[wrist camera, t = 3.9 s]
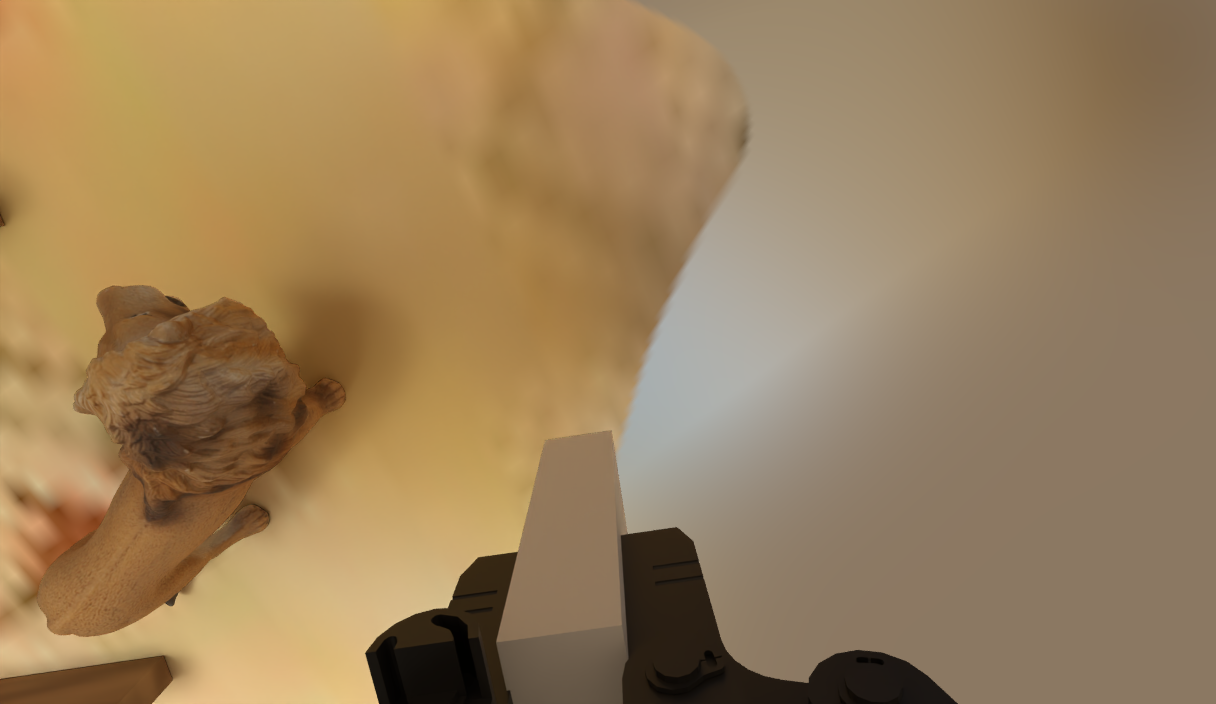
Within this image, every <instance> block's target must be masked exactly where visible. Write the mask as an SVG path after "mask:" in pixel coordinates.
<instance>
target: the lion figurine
mask: <svg viewBox="0 0 1216 704" xmlns="http://www.w3.org/2000/svg"><path fill="white" fill-rule="evenodd" d="M97 307H98V309H99V311H100V313H101V315H102V317H103V319H104V323H105V327H106V333H105V334H104V336H103V337H102V338H101V340H100V341H99V344H98V354H97V358H94V359H92V360H91V362H90V364H89V366H88V368H87V370H86V374H87V377H88V378H87V380H86V381H85V382H84V385H83V387H82V388H80V389H79V390H77V391H76V393H75V394H74V400H75V402H74V405H73V409H74V411H77V412H79V413H84V414H92V415H96V416H97V417H98V418H99V419H100V420H101V422H102V423H103V424H104V426H105V429H106V431H107V433H108V434H109V435H110V437H111V440H112V441H113V442H114V443H117V444H123V445H122V447H121V449H120V452H119V458H120V459H121V461H122V462H123V463H124V464H125V465H126V466H127V467H128V468H129V469H130V470H129V471H128V473H127V475H126V476H125V478H124V480H123V482H122V483H121V485H120V487H119V488H118V490H117V492H116V494H115V496H114V498H113V500H112V502H111V504H110V507H109V509H108V511H107V514H106V515H105V517H104V519H103V521H102V523H101V524H100V526H99V528H98V529H96V530H94V531H93V532H91V533H89V534H88V535H86V536H85V537H84V538H82V539H81V540H79V541H78V542H77V543H75V544H74V545H73V546H72V547H71V548H69V549H68V550H67V551H66V552H64V553H63V554H62V555H61V556H59V557H58V558H57V559H56V560H55V561H54V563H53V564H52V565H51V566H50V567H49V568H48V570H47V571H46V573H45V574H44V576H43V578H42V580H41V583H40V586H39V591H38V596H37V602H38V605H39V607H40V609H41V610H42V612H43V613H44V614H45V615H46V617H47V627H48V628H49V630H50V631H51V632H53V633H54V634H58V635H70V634H75V635H78V636H83V637H89V636H98V635H103V634H108V633H111V632H114V631H117V630H119V629H121V628H124V627H126V626H128V625H130V624H132V623H134V622H136V621H138V620H139V619H141V618H143V617H145V616H146V615H148V614H149V613H151V612H152V611H154V610H155V609H157V608H158V607H160V606H161V605H163V604H164V603H166V604H167V605H169V606H173V605H174V603H175V599H176V597H177V595H178V593H179V591H180V590H181V589H182V588H183V587H185V586H186V585H187V584H188V583H189V582H190V581H191V580H192V579H193V578H194V577H195V576H196V575H197V574H198V573H199V572H200V571H201V570H202V568H203V567H204V566H205V565H206V564H207V563H208V562H209V561H210V560H211V559H213V558H215V557H217V556H218V555H219V554H220V553H222V552H223V551H224V550H226V549H227V548H228V547H230V546H231V545H232V544H234V543H236V542H237V541H239V540H241V539H243V538H245V537H248V536H250V535H253V534H256V533H258V532H261V531H262V530H264V529H265V528H266V527H267V525H268V524H269V516H268V514H267V512H266V511H264V510H262V509H261V508H260V507H258V506H256V505H248V506H245V507H243V508H242V509H241V510H239V511H238V512H237V513H236V514H235V516H234V517H233V518H232V519H231V520H230V521H229V522H228V523H227V524H226V525H225V526H224V527H222V528H221V529H220V530H219V531H217V532H216V533H214V532H215V531H216V530H217V529H218V528H219V527H220V526H221V525H222V524H223V523H224V522H225V520H226V519H227V518H228V517H229V516H230V515H231V514H232V513H233V512H234V510H235V509H236V508H237V506H238V505H239V504H240V503H241V501H242V500H243V498H244V496H245V495H246V493H247V491H248V489H249V487H250V486H251V484H252V482H253V480H255V479H256V478H258V477H259V476H261V475H262V474H264V473H265V472H267V471H269V470H270V469H272V468H273V467H274V466H276V465H277V464H278V463H279V462H280V461H281V460H282V458H283V457H284V456H285V455H286V454H287V453H288V452H289V450H290V449H291V447H293V446H295V445H296V444H297V443H298V442H299V441H301V440H302V439H303V438H304V437H305V435H306V434H307V433H308V432H309V430H310V429H311V428H312V427H313V426H314V425H315V424H316V422H317V421H318V419H319V418H320V417H322V416H323V415H325V414H327V413H329V412H332V411H334V410H336V409H338V408H340V407H341V406H342V405H343V403H344V402H345V393H344V390H343V388H342V386H341V385H340V384H339V383H338V382H336V381H333V380H330V379H327V378H324V379H322V380H320V381H319V382H318V383H317V384H316V385H315V386H314V387H312V388H309V389H307V390H306V384H305V383H304V381H303V380H302V379H301V378H300V377H299V369H300V368H299V366H298V365H297V364H292V363H289V362H288V361H287V360H286V358H285V354H284V351H283V350H282V348H281V347H280V345H279V342H278V340H277V339H276V338H275V335H274V333H273V332H272V331H270V330H268V329H267V325H266V322H265V321H264V320H263V319H262V318H260V317H259V316H257V315H256V314H255V313H254V311H253V310H252V309H251V308H249V307H246V306H244V305H243V304H242V303H240V302H237V301H235V300H232V299H229V298H226V297H223V298H221V299H220V300H219V301H217V302H215V303H213V304H211V305H208V306H206V307H204V308H200V309H195V310H193V311H190V310H189V309H188V307H187V306H186V305H185V304H184V303H183V302H182V300H180V299H179V298H176V297H173V296H164V294H163V293H162V292H161V291H159V290H158V289H156V288H154V287H151V286H144V285H139V286H127V287H120V286H111V287H108V288H106V289H104V290H102V291H101V292H100V293H99V294H98V296H97ZM213 533H214V534H213ZM212 534H213V535H212Z"/></svg>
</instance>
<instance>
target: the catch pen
mask: <svg viewBox="0 0 1216 704" xmlns="http://www.w3.org/2000/svg"><path fill="white" fill-rule="evenodd" d="M1 226H4V224H3V221H2V218H1V216H0V227H1ZM171 681H172V677H171V675H170V672H169V669H168V667H167V664H166V661H165V659H164V656H160V657H153V658H146V659H139V660H132V661H125V662H118V663H111V664H104V665H98V666H91V667H84V668H77V669H70V670H63V671H56V672H49V673H42V674H36V675H29V676H22V677H15V678H8V679H1V680H0V704H152V703H153V702H154V701H155V699H156V698H157V697H158V696H159V695H160V694H161V693H162V692H163V690H164V689H165V688H166V687H167V686H168V685H169V684H170V683H171Z"/></svg>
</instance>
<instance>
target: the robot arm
mask: <svg viewBox="0 0 1216 704" xmlns="http://www.w3.org/2000/svg"><path fill="white" fill-rule="evenodd" d="M452 597H453V600H451V601H450V604H449V607H448V608H444V609H433V610H429V611H425V612H422V613H418V614H415V615H413V616H410V617H408V618H406V619H404V620H402V621H400V622H398V623H396V624H394V625H393V626H392V627H390V628H389V629H388V630H386V631H385V632H384V633H382V634H381V635H380V636H379V637H377V638H376V640H375V641H374V642H373V644H372V645H371V646H370V647H369V649H368V650H367V651H366V653H365V654H366V658H367V661H368V665H369V669H370V672H371V676H372V680H373V683H374V687H375V690H376V694H377V698H378V701H379V704H958V703H956V702H955V701H954V700H953V699H952V698H951V697H950V696H949V695H948V694H947V693H945V692H944V691H943V690H942V689H941V688H940V687H939V686H938V685H937V684H936V683H935V682H934V681H933V680H931V679H930V678H929V677H928V676H927V675H926V674H924V673H923V672H921V671H920V670H918V669H917V668H915V667H914V666H913V665H911V664H910V663H908V662H907V661H904V660H901V659H899V658H896V657H893V656H890V655H888V654H885V653H881V652H872V651H862V650H855V651H849V652H844V653H837V654H835V655H833V656H831V657H829V658H827V659H826V660H824V661H822V662H820V663H819V664H818V665H817V667H816V668H815V670H814V671H813V673H812V674H811V676H810V677H809V683H803V682H795V681H787V680H780V679H775V678H771V677H765V676H762V675H760V674H758V673H755V672H753V671H750V670H748V669H747V668H745V667H744V666H742V665H741V664H739V663H738V662H736V661H735V660H734V659H733V658H732V656H731V655H730V654H729V653H728V652H727V651H726V649H725V647H724V645H723V643H722V641H721V637H720V634H719V630H718V627H717V623H716V620H715V616H714V613H713V609H712V606H711V603H710V599H709V595H708V592H707V588H706V584H705V581H704V579H703V574H702V570H701V567H700V563H699V560H698V556H697V553H696V549H695V546H694V542H693V541H692V540H691V539H690V538H689V537H688V536H687V535H685V534H684V533H683V532H682V531H681V530H680V529H678V528H677V527H675V528H668V529H661V530H654V531H647V532H640V533H633V534H628V533H627V527H626V521H625V514H624V508H623V501H622V495H621V488H620V482H619V475H618V469H617V463H616V456H615V450H614V443H613V437H612V430H611V431H604V432H597V433H591V434H584V435H577V436H570V437H563V438H556V439H549V440H545V442H544V446H543V450H542V454H541V459H540V463H539V467H538V471H537V475H536V479H535V483H534V488H533V492H532V496H531V500H530V504H529V508H528V512H527V517H526V521H525V525H524V529H523V533H522V537H521V541H520V546H519V550H518V552H513V553H506V554H499V555H492V556H485V557H478V558H477V559H476V560H475V561H474V563H473V564H472V565H471V566H470V567H469V568H468V569H467V570H466V571H465V572H464V573H463V574H462V575H461V576H460V578H459V581H458V583H457V586H456V588H455V591H454V594H453V596H452Z"/></svg>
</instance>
